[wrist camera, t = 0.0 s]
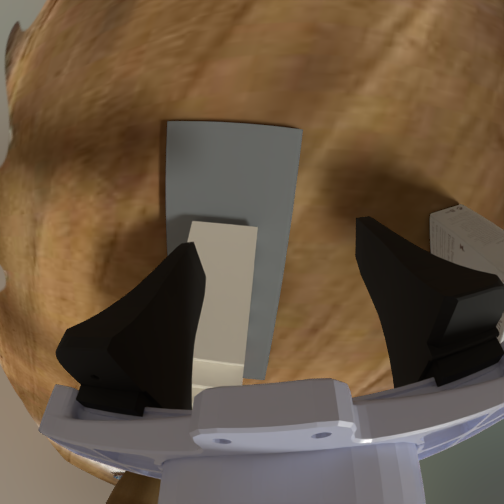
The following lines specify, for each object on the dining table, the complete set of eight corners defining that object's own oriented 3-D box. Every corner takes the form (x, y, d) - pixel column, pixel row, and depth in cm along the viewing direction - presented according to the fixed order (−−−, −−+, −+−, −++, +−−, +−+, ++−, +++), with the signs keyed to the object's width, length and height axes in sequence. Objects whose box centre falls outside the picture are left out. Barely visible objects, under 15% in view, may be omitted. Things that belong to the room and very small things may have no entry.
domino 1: (256, 238, 23) (243, 366, 18) (195, 232, 23) (171, 356, 18) (257, 227, 21) (243, 364, 17) (192, 220, 21) (165, 353, 17)
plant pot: (111, 443, 47) (91, 498, 32) (166, 451, 44) (150, 516, 30) (143, 469, 53) (130, 517, 38) (195, 475, 50) (185, 530, 36)
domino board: (264, 374, 31) (264, 379, 30) (179, 364, 31) (178, 369, 30) (301, 129, 20) (302, 129, 19) (171, 121, 20) (167, 121, 19)
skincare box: (426, 213, 22) (512, 283, 11) (462, 201, 21) (550, 259, 10) (430, 270, 24) (494, 352, 13) (464, 257, 23) (532, 328, 12)
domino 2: (253, 275, 24) (241, 393, 18) (195, 268, 24) (172, 383, 18) (254, 264, 23) (241, 390, 17) (193, 258, 23) (167, 379, 17)
